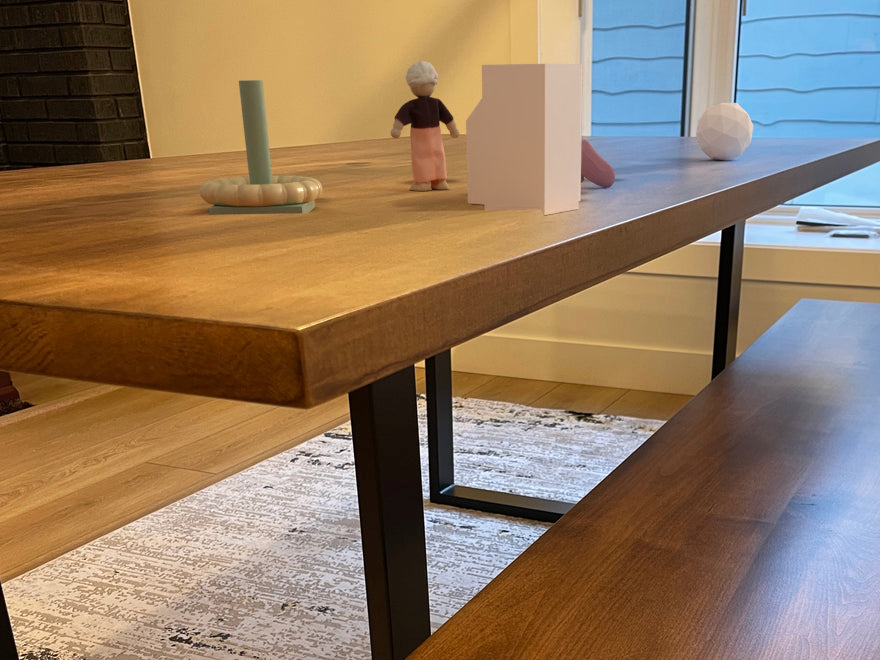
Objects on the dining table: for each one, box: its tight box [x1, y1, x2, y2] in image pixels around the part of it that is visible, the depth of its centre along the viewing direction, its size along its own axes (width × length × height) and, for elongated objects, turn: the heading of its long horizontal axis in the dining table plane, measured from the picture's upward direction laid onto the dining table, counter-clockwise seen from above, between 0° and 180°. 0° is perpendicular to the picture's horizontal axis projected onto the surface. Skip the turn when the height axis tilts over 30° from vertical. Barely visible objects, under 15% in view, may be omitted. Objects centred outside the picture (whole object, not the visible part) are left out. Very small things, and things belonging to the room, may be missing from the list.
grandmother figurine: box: [390, 60, 460, 192], centre depth 105 cm, size 8×4×13 cm, turn 130°
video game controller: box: [581, 136, 616, 188], centre depth 109 cm, size 10×5×7 cm, turn 27°
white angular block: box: [465, 63, 584, 216], centre depth 91 cm, size 11×11×12 cm
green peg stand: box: [207, 79, 316, 216], centre depth 88 cm, size 8×8×11 cm
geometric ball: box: [695, 102, 755, 161], centre depth 140 cm, size 8×8×8 cm
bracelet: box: [199, 174, 323, 207], centre depth 90 cm, size 11×11×2 cm
